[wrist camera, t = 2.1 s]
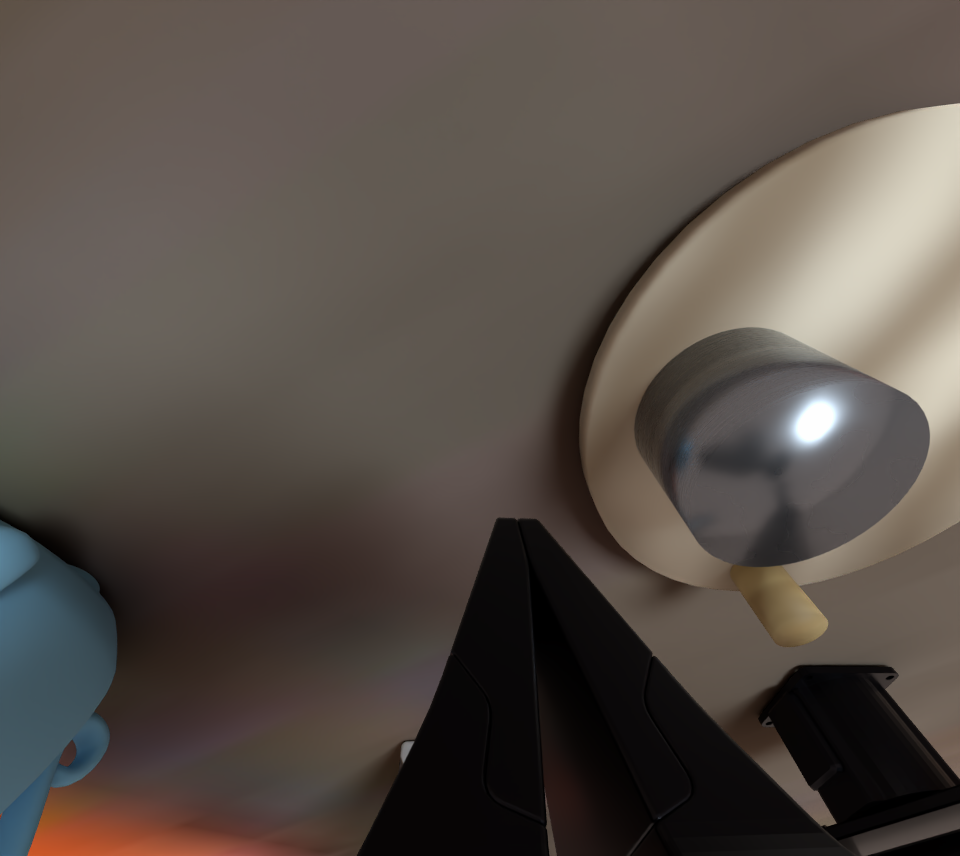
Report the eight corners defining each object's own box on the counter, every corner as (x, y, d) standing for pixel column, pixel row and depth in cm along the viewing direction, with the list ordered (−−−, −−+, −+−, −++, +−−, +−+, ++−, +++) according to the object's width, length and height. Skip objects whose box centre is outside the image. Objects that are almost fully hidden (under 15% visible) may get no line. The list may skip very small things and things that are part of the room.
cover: (849, 334, 13) (985, 391, 10) (765, 486, 16) (847, 569, 13) (666, 319, 13) (744, 374, 9) (614, 479, 16) (659, 564, 12)
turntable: (1260, 147, 12) (1592, 137, 9) (893, 574, 21) (982, 655, 18) (664, 62, 11) (772, 7, 7) (541, 565, 20) (561, 653, 16)
